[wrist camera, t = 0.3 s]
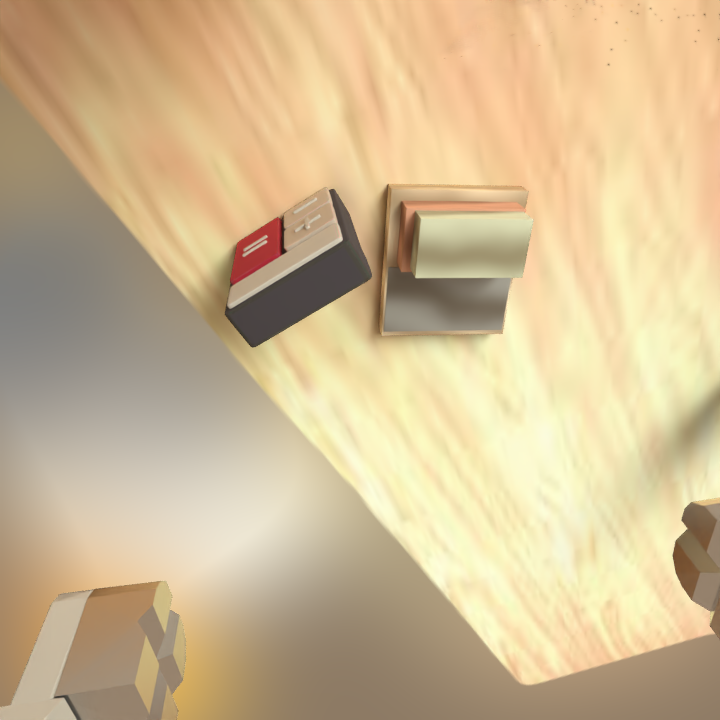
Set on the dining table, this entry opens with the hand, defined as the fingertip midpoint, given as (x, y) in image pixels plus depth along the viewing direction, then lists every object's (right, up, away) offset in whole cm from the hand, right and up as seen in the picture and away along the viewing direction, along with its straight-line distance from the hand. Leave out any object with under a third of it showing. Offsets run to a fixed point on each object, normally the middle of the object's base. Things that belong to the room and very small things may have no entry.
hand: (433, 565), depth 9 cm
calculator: (-8, +16, +47) cm, 50 cm away
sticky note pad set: (+8, +13, +50) cm, 53 cm away
